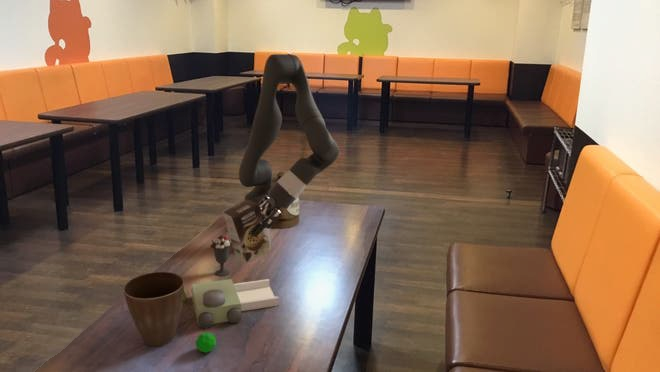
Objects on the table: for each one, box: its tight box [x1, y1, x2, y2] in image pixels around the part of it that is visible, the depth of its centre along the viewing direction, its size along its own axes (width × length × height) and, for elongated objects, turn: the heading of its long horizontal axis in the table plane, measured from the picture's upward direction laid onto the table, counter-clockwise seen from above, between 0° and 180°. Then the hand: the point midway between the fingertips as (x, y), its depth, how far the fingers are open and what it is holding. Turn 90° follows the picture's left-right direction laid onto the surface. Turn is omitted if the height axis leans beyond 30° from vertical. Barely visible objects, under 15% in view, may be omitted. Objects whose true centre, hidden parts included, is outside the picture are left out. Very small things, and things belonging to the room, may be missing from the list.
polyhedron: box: [195, 331, 217, 353], centre depth 138 cm, size 5×5×5 cm
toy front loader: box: [191, 278, 280, 329], centre depth 160 cm, size 19×24×7 cm
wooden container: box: [270, 171, 300, 229], centre depth 226 cm, size 15×15×22 cm
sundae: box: [210, 229, 232, 277], centre depth 180 cm, size 7×7×15 cm
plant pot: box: [122, 271, 185, 347], centre depth 141 cm, size 15×15×16 cm
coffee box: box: [222, 199, 272, 265], centre depth 158 cm, size 9×6×16 cm
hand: (250, 230), depth 159 cm, fingers closed on coffee box, 8 cm apart
